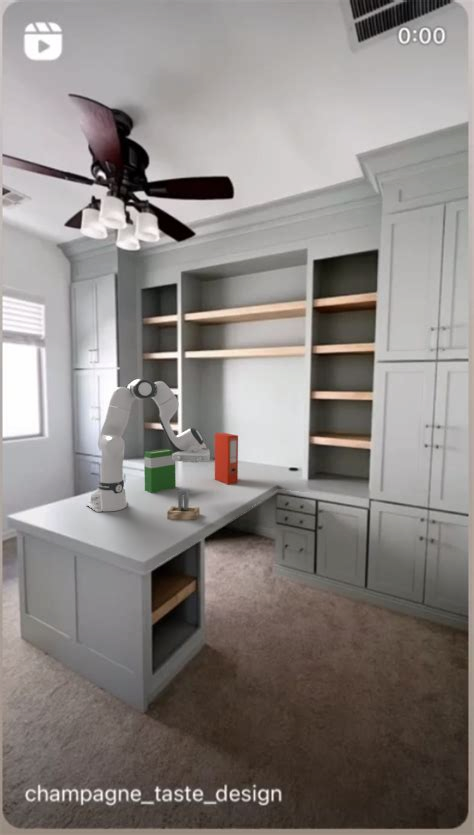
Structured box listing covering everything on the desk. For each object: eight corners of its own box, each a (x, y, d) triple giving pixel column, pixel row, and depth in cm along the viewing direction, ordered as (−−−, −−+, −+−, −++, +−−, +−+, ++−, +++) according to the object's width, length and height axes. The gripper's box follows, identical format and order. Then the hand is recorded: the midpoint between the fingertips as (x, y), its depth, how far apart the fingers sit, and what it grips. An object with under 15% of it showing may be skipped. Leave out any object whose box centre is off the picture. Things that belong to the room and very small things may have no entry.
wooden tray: (167, 518, 178) (167, 511, 178) (172, 513, 186) (171, 506, 186) (196, 519, 177) (196, 512, 176) (199, 514, 185) (199, 507, 184)
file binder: (224, 477, 261) (224, 432, 259) (237, 483, 246) (238, 435, 244) (214, 479, 257) (214, 433, 254) (227, 484, 242) (227, 436, 240)
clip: (178, 515, 180) (178, 491, 179) (180, 513, 183) (180, 489, 182) (186, 515, 179) (186, 491, 178) (188, 513, 183) (188, 489, 182)
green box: (168, 485, 240) (168, 448, 238) (175, 487, 235) (175, 450, 233) (144, 490, 228) (144, 451, 226) (151, 492, 223) (150, 453, 221)
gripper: (176, 447, 206) (168, 453, 192) (212, 449, 203) (206, 455, 190) (176, 459, 207) (168, 465, 193) (212, 460, 204) (206, 467, 191)
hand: (187, 460), depth 192 cm, fingers open, 8 cm apart
